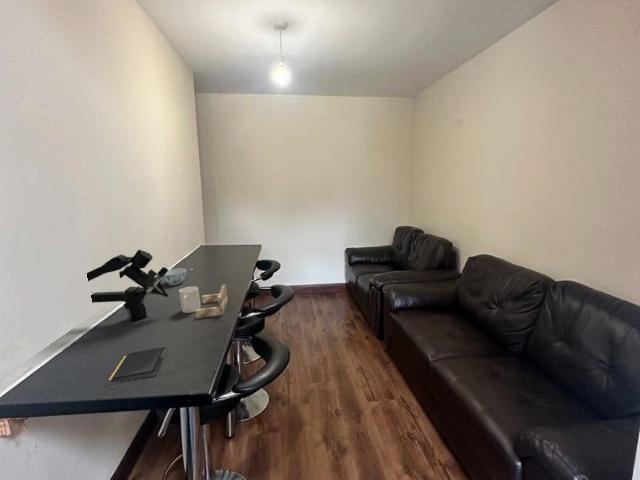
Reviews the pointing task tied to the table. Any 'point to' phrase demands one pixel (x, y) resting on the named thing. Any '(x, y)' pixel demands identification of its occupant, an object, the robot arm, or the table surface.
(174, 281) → the chinaware
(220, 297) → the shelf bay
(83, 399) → the table surface
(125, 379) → the dark grey notebook
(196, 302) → the cup
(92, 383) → the table surface
